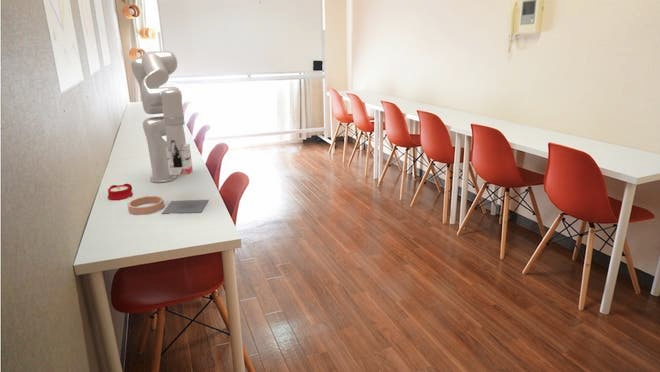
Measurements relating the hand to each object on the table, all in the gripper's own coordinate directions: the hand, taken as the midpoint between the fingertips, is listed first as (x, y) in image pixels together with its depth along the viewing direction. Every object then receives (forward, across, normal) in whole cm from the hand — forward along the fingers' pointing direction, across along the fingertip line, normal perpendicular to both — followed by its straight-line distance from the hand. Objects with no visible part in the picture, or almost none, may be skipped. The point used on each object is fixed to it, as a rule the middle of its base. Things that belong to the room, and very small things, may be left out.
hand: (180, 164), depth 180 cm
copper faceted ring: (+19, 0, -16) cm, 25 cm away
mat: (+19, 0, 0) cm, 19 cm away
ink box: (+4, 0, 0) cm, 4 cm away
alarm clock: (+19, -18, -34) cm, 43 cm away
